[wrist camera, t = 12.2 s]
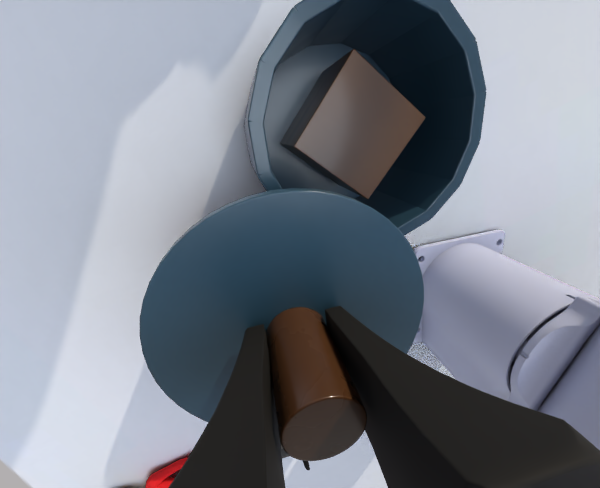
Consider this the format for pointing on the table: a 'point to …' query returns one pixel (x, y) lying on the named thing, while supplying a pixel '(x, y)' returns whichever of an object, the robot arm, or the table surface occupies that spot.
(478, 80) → the tin
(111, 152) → the table surface
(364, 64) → the block
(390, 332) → the tin lid
